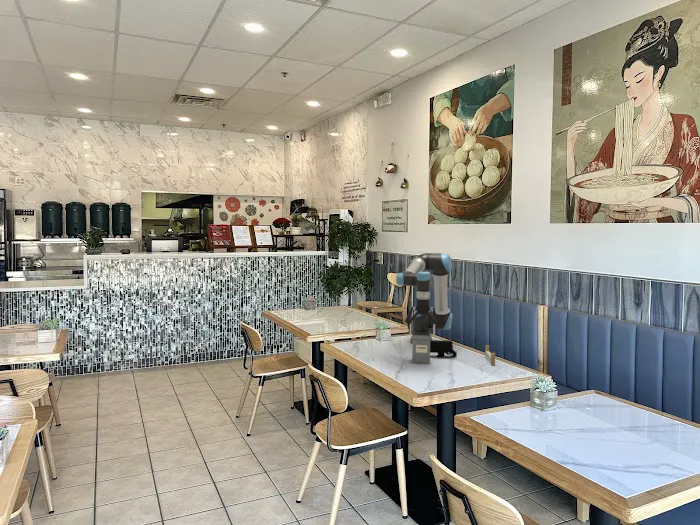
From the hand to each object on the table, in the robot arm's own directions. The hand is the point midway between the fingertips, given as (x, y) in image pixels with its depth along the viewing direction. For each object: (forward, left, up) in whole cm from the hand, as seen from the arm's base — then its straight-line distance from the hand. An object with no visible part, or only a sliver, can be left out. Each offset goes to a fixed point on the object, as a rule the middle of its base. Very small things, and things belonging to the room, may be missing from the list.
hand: (422, 335), depth 302 cm
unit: (-10, 0, -18) cm, 21 cm away
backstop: (-17, +42, -18) cm, 49 cm away
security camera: (-23, +14, -19) cm, 33 cm away
